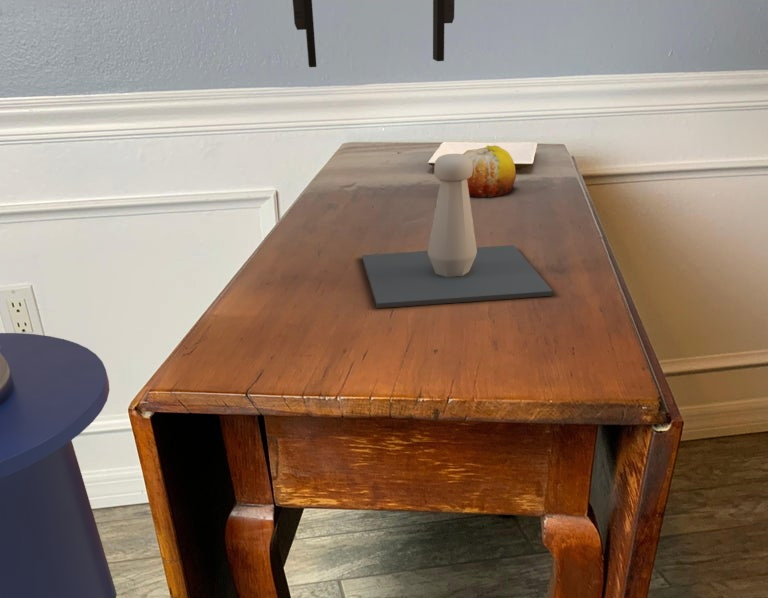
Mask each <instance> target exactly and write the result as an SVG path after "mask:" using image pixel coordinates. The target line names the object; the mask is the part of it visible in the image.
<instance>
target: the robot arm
mask: <svg viewBox="0 0 768 598" xmlns="http://www.w3.org/2000/svg"><path fill="white" fill-rule="evenodd" d="M455 1H456V0H432V60H434V61H436V62H445V24H453V22H454V19H455ZM292 9H293V24H294V26H295V28H296V30H297V31H303V30H304V31H305V36H306V49H307V63H308V67H309V68H317V54H316V52H317V51H316V40H315V38H316V37H315V25H314V24H315V23H314V12H313V11H314V10H313V9H314V8H313V0H292ZM0 348H1V347H0ZM13 388H14V382H13V378H12V375H11V372H10V369H9V366H8V363H7V361H6V359H5V358H4V357H3V356H2V354H1V353H0V405H1V404H3V403H4V402H5V401H6V400H7V399H8V397H9V396H10V395H11V393H12V391H13Z"/></svg>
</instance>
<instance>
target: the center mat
mask: <svg viewBox="0 0 768 598" xmlns="http://www.w3.org/2000/svg"><path fill="white" fill-rule="evenodd" d="M476 248H477V253H476V257H475V259H474V261H473V264H472V266H471V268H470V270H469V272H467V273H466V274H464V275H463V276H453V277H446V276H442V275H438V274H436V273H435V271H434V268H433V266H432V263H431V260H430V258H429V256H428V250H420V251H419V250H418V251H406V252H405V251H403V252H387V253H375V254H374V253H373V254H362V255H361V260H362V263H363V267H364V270H365V272H366V276H367V280H368V284H369V287H370V290H371V293H372V296H373V301H374V303H375V306H376V309H387V308H403V307H415V306H416V307H417V306H429V305H443V304H456V303H470V302H484V301H497V300H499V301H500V300H501V301H502V300H514V299H526V298H527V299H528V298H539V297H543V298H544V297H552V296H553V295H554V290H553V289H552V288H551V287H550V285H548V283H547V282H546V281H545V280H544V279H543V278H542V277H541V275H540V274H539V272H537V270H536V269H535V268H534V267H533V266H532V265H531V264H530V262H529V261H528V260H527V259H526V257H524V256H523V254H522V253H521V252H520V251H519V249H517V247H516V246H515V245H514V244H510V245H508V244H507V245H495V246H494V245H493V246H480V247H476Z"/></svg>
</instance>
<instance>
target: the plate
mask: <svg viewBox="0 0 768 598" xmlns="http://www.w3.org/2000/svg"><path fill="white" fill-rule="evenodd" d="M487 146H499V147H500V148H502V149H504V150H506V151H507V152H508V153H509V154H510V156H511V157H512V159H513V162H514V165H515V171H519V170H523V169H525V168H528V167H532V165H533V164H534V160H535V156H536V151H537V146H538V143H537V142H535V141H532V142H531V141H524V142H523V141H496V142H495V141H490V142H489V141H443V142H442V143H440V145H439V146H438V148H437V149H436V150H435V152H434V153H433V154H432V156H431V157H430V159H429V160H428V162H427V164H428V165H429V166H431V167H434V166H435V161H436V160H437V159H438V157H440V156H442V155H446V154H464V153H465V152H466V151H467V150H473V149H479V148H484V147H487Z"/></svg>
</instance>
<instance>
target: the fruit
mask: <svg viewBox="0 0 768 598" xmlns="http://www.w3.org/2000/svg"><path fill="white" fill-rule="evenodd" d="M463 155H466V156H468V157H469V158H470V159H471V160H472V163H473V173H472V176H471V177H470V178H468V179H467V183H468V190H469V197H474V198H492V197H500V196H503V195H504V196H505V195H507V194H509V193H510V192H511V191H512V189H513V188H514V186H515V181H516V175H517V172H516V171H517V170H516V171H515V165H514V162H513V159H512V157H511V156H510V154H509V153H508V152H507V151H506V150H504V149H502V148H500V147H499V146H487V147H484V148H479V149H473V150H467V151H466V152H465V153H464V154H463Z"/></svg>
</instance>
